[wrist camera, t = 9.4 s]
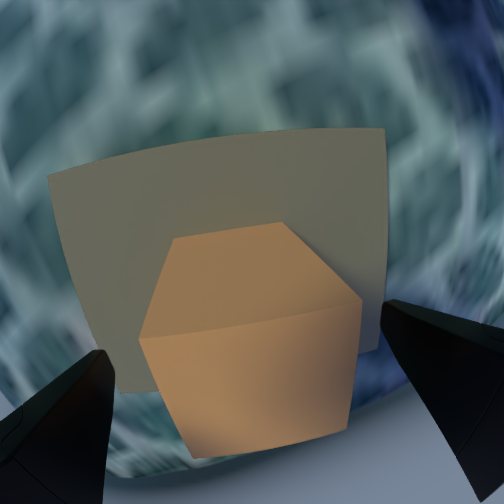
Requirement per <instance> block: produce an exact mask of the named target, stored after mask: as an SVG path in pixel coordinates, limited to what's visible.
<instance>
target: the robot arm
mask: <svg viewBox="0 0 504 504" xmlns="http://www.w3.org/2000/svg"><path fill="white" fill-rule="evenodd" d="M380 328H381V330H382V332H383V334H384V336H385V338H386V340H387V342H388V344H389V346H390V348H391V350H392V352H393V354H394V356H395V358H396V359H397V361H398V363H399V365H400V366H401V368H402V369H403V371H404V372H405V374H406V376H407V377H408V379H409V380H410V382H411V383H412V385H413V386H414V388H415V389H416V391H417V393H418V394H419V396H420V397H421V399H422V401H423V402H424V404H425V406H426V407H427V409H428V410H429V412H430V413H431V415H432V417H433V419H434V420H435V422H436V424H437V425H438V427H439V429H440V430H441V432H442V434H443V435H444V437H445V439H446V441H447V442H448V444H449V446H450V447H451V449H452V451H453V453H454V454H455V456H456V458H457V460H458V462H459V464H460V466H461V467H462V469H463V471H464V473H465V475H466V477H467V479H468V480H469V482H470V484H471V486H472V488H473V490H474V492H475V494H476V496H477V498H478V500H479V501H480V502H483V501H484V500H485V499H486V498H488V497H489V496H490V495H491V494H493V493H494V492H495V491H496V490H497V489H498V488H500V487H501V486H502V485H503V484H504V329H502V328H498V327H494V326H490V325H486V324H483V323H481V324H480V323H479V322H475V321H472V320H468V319H464V318H461V317H457V316H453V315H450V314H446V313H442V312H439V311H435V310H431V309H428V308H424V307H421V306H417V305H413V304H410V303H406V302H403V301H399V300H396V299H392V300H388V301H385V302H383V304H382V308H381V317H380ZM114 389H115V369H114V367H113V365H112V363H111V361H110V358H109V356H108V354H107V352H106V351H105V350H103V349H99V350H92V351H91V352H90V353H88V354H87V355H86V356H84V357H83V358H82V359H80V360H79V361H78V362H76V363H75V364H74V365H73V366H71V367H70V368H69V369H67V370H66V371H65V372H63V373H62V374H61V375H60V376H58V377H57V378H56V379H54V380H53V381H52V382H50V383H49V384H48V385H47V386H45V387H44V388H43V389H41V390H40V391H39V392H38V393H36V394H35V395H34V396H32V397H31V398H30V399H29V400H27V401H26V402H25V403H24V404H23V405H21V406H20V407H18V408H17V409H16V410H15V411H13V412H12V413H11V414H9V415H8V416H7V417H6V418H4V419H3V420H1V421H0V504H102V502H103V488H104V478H105V468H106V459H107V451H108V444H109V436H110V430H111V423H112V416H113V404H114Z"/></svg>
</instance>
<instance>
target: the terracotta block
mask: <svg viewBox="0 0 504 504" xmlns="http://www.w3.org/2000/svg"><path fill="white" fill-rule="evenodd" d="M362 301H363V300H362V299H361V298H360V297H359V296H358V295H357V294H356V293H355V292H354V291H353V290H352V289H351V288H350V287H349V286H348V285H347V284H346V283H345V282H344V281H343V280H342V279H341V278H340V277H339V276H338V275H337V274H336V273H335V272H334V271H333V270H332V269H331V268H330V267H329V266H328V265H327V264H326V263H325V262H324V261H323V260H322V259H320V258H319V257H318V256H317V255H316V254H315V253H314V252H313V251H312V250H311V249H310V248H309V247H308V246H307V245H306V244H305V243H304V242H303V241H302V240H301V239H300V238H299V237H298V236H297V235H295V234H294V233H293V232H292V231H291V230H290V229H289V228H288V227H287V226H286V225H285V224H284V223H283V222H278V223H271V224H264V225H257V226H251V227H244V228H237V229H231V230H224V231H218V232H212V233H205V234H199V235H193V236H187V237H181V238H175V239H173V242H172V245H171V247H170V250H169V252H168V255H167V258H166V260H165V263H164V266H163V268H162V271H161V274H160V277H159V279H158V282H157V285H156V288H155V291H154V293H153V296H152V299H151V302H150V305H149V308H148V311H147V314H146V317H145V320H144V323H143V326H142V329H141V332H140V336H139V342H140V345H141V347H142V350H143V353H144V355H145V358H146V360H147V363H148V365H149V368H150V370H151V372H152V375H153V377H154V380H155V382H156V384H157V387H158V389H159V391H160V393H161V396H162V398H163V400H164V402H165V404H166V406H167V408H168V411H169V413H170V415H171V417H172V419H173V421H174V423H175V425H176V427H177V429H178V431H179V433H180V435H181V437H182V439H183V440H184V442H185V444H186V446H187V448H188V450H189V452H190V453H191V455H192V457H193V459H197V458H209V457H218V456H227V455H235V454H242V453H248V452H254V451H260V450H266V449H271V448H276V447H281V446H286V445H290V444H294V443H298V442H303V441H307V440H310V439H314V438H318V437H322V436H325V435H328V434H332V433H335V432H339V431H342V430H345V429H346V427H347V422H348V416H349V411H350V405H351V399H352V393H353V387H354V380H355V372H356V365H357V356H358V348H359V338H360V327H361V315H362Z"/></svg>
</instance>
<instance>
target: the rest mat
mask: <svg viewBox="0 0 504 504" xmlns="http://www.w3.org/2000/svg"><path fill="white" fill-rule="evenodd" d="M47 178H48V184H49V190H50V196H51V201H52V206H53V210H54V215H55V220H56V224H57V228H58V232H59V236H60V240H61V244H62V247H63V251H64V255H65V258H66V262H67V265H68V268H69V271H70V275H71V278H72V281H73V284H74V287H75V290H76V293H77V296H78V298H79V301H80V304H81V307H82V309H83V312H84V315H85V317H86V320H87V322H88V325H89V327H90V330H91V332H92V334H93V337H94V339H95V341H96V344H97V346H98V348H99V349H103V350H105V351H106V352H107V354H108V356H109V358H110V361H111V363H112V365H113V367H114V369H115V384H116V386H117V387H118V389H119V391H120V393H139V392H156V391H159V389H158V387H157V384H156V382H155V380H154V377H153V375H152V372H151V370H150V368H149V365H148V363H147V360H146V358H145V355H144V353H143V350H142V347H141V345H140V342H139V336H140V332H141V329H142V326H143V323H144V320H145V317H146V314H147V311H148V308H149V305H150V302H151V299H152V296H153V293H154V291H155V288H156V285H157V282H158V279H159V277H160V274H161V271H162V268H163V266H164V263H165V260H166V258H167V255H168V252H169V250H170V247H171V245H172V242H173V239H175V238H181V237H187V236H193V235H199V234H205V233H212V232H218V231H224V230H231V229H237V228H244V227H251V226H257V225H264V224H271V223H278V222H283V223H284V224H285V225H286V226H287V227H288V228H289V229H290V230H291V231H292V232H293V233H294V234H295V235H297V236H298V237H299V238H300V239H301V240H302V241H303V242H304V243H305V244H306V245H307V246H308V247H309V248H310V249H311V250H312V251H313V252H314V253H315V254H316V255H317V256H318V257H319V258H320V259H322V260H323V261H324V262H325V263H326V264H327V265H328V266H329V267H330V268H331V269H332V270H333V271H334V272H335V273H336V274H337V275H338V276H339V277H340V278H341V279H342V280H343V281H344V282H345V283H346V284H347V285H348V286H349V287H350V288H351V289H352V290H353V291H354V292H355V293H356V294H357V295H358V296H359V297H360V298H361V299H362V300H363V301H362V315H361V327H360V338H359V348H358V355H359V354H363V353H366V352H369V351H373V350H376V349H378V343H379V336H380V329H381V328H380V317H381V308H382V304H383V302H384V294H385V282H386V268H387V250H388V171H387V153H386V139H385V128H315V129H294V130H279V131H267V132H256V133H246V134H237V135H229V136H221V137H214V138H207V139H200V140H194V141H188V142H182V143H176V144H170V145H165V146H160V147H155V148H150V149H145V150H140V151H136V152H131V153H127V154H123V155H119V156H114V157H110V158H106V159H103V160H99V161H95V162H91V163H88V164H84V165H81V166H77V167H74V168H70V169H67V170H64V171H61V172H58V173H54V174H51V175H48V176H47Z"/></svg>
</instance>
